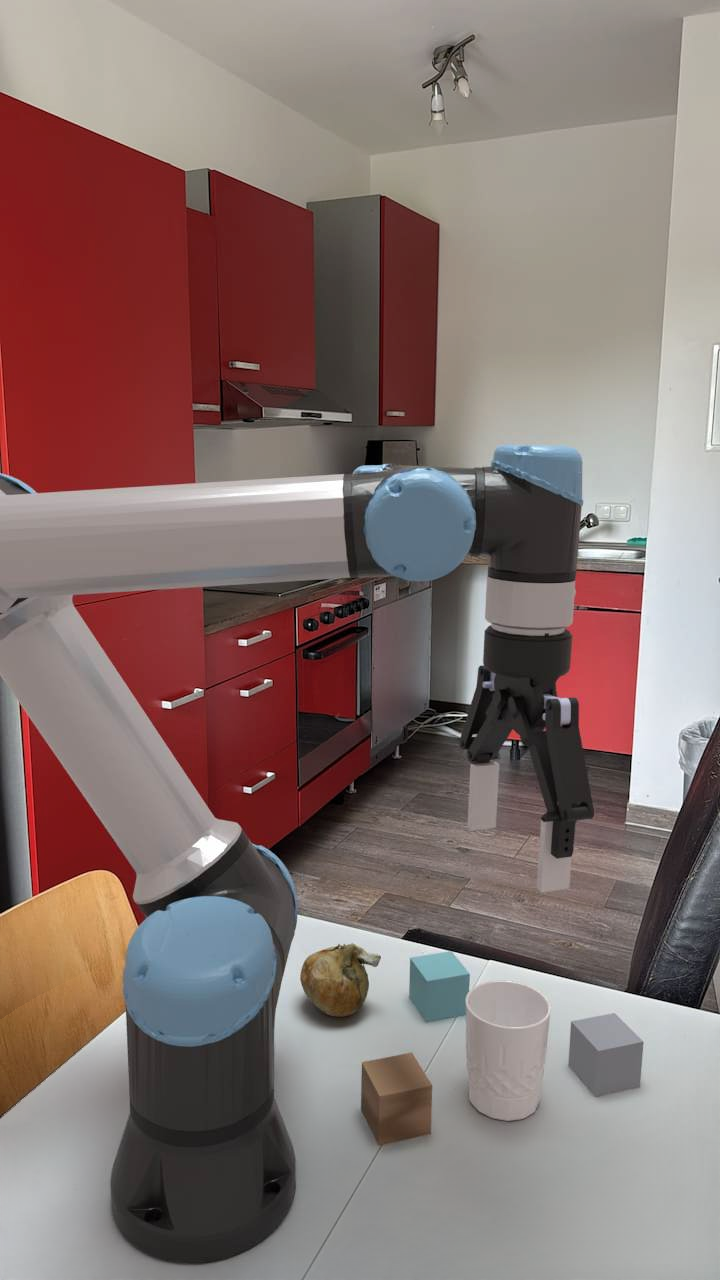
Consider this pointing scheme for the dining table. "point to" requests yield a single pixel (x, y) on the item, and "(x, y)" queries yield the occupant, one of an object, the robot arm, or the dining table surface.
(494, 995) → the white cup
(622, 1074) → the slate grey block
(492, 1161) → the dining table surface
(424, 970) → the dusty teal block
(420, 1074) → the walnut block
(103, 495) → the robot arm
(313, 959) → the onion
